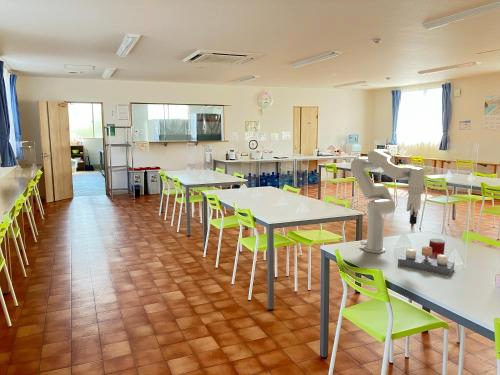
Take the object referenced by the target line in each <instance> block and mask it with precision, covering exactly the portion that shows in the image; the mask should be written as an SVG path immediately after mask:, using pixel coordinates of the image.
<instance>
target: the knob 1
mask: <svg viewBox="0 0 500 375" xmlns="http://www.w3.org/2000/svg"><path fill="white" fill-rule="evenodd" d="M405 253H406V257H407V258H410V259H415V258H416V255H417V250H416V249H413V248H407V249H406V252H405Z"/></svg>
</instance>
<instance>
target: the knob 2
mask: <svg viewBox="0 0 500 375" xmlns="http://www.w3.org/2000/svg"><path fill="white" fill-rule="evenodd" d="M448 259H449V256H448V255H446V254H444V255H441V254H440V255H437V263H438V264H441V265H447V261H448Z"/></svg>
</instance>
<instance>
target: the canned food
mask: <svg viewBox="0 0 500 375" xmlns="http://www.w3.org/2000/svg"><path fill="white" fill-rule="evenodd" d="M445 241H446V240H443V239H441V238H430V239H429V243H428V244H429V245H428V247H431V248H432V256H428V258H433V259H437V255H440V254H441V255H445V246H446V244H445V243H446V242H445Z"/></svg>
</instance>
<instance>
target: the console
mask: <svg viewBox="0 0 500 375" xmlns="http://www.w3.org/2000/svg"><path fill="white" fill-rule="evenodd" d="M397 266H399V267H403V268H408V269H412V270H419V271H423V272H427V273H431V274H436V275H441V276H445V277H447V276H448V277H450V276H451V274H452V273H453V272H454V270H455V262H454V261H447V265H441V264H438V263H437V259H433V258H429V257H428V260H427V261H425V256H423V255H417V254H416V258H415V259H410V258H407V257H406V252H404V253H403V254H402V255H401V256H400V257H398V259H397Z"/></svg>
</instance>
